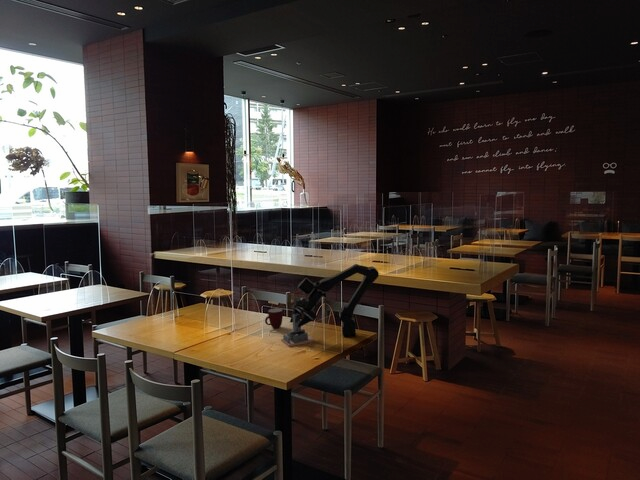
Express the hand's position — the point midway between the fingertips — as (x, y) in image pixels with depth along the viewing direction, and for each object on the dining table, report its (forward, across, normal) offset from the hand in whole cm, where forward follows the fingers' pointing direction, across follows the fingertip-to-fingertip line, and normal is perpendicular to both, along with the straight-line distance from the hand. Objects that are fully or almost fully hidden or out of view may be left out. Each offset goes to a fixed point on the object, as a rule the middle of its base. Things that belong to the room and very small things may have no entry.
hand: (294, 324), depth 243 cm
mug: (+7, -26, +6) cm, 28 cm away
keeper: (+5, 0, +7) cm, 9 cm away
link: (+5, 0, +7) cm, 8 cm away
